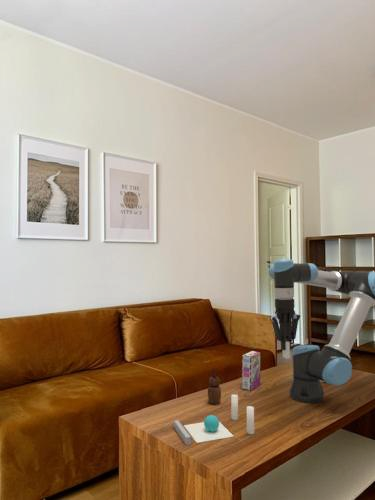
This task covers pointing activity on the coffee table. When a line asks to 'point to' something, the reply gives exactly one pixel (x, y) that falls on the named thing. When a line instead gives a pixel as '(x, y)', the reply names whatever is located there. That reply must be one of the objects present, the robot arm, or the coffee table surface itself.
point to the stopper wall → (182, 432)
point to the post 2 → (250, 420)
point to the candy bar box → (250, 370)
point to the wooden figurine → (214, 389)
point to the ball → (211, 423)
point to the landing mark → (207, 432)
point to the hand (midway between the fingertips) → (286, 357)
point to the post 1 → (234, 407)
